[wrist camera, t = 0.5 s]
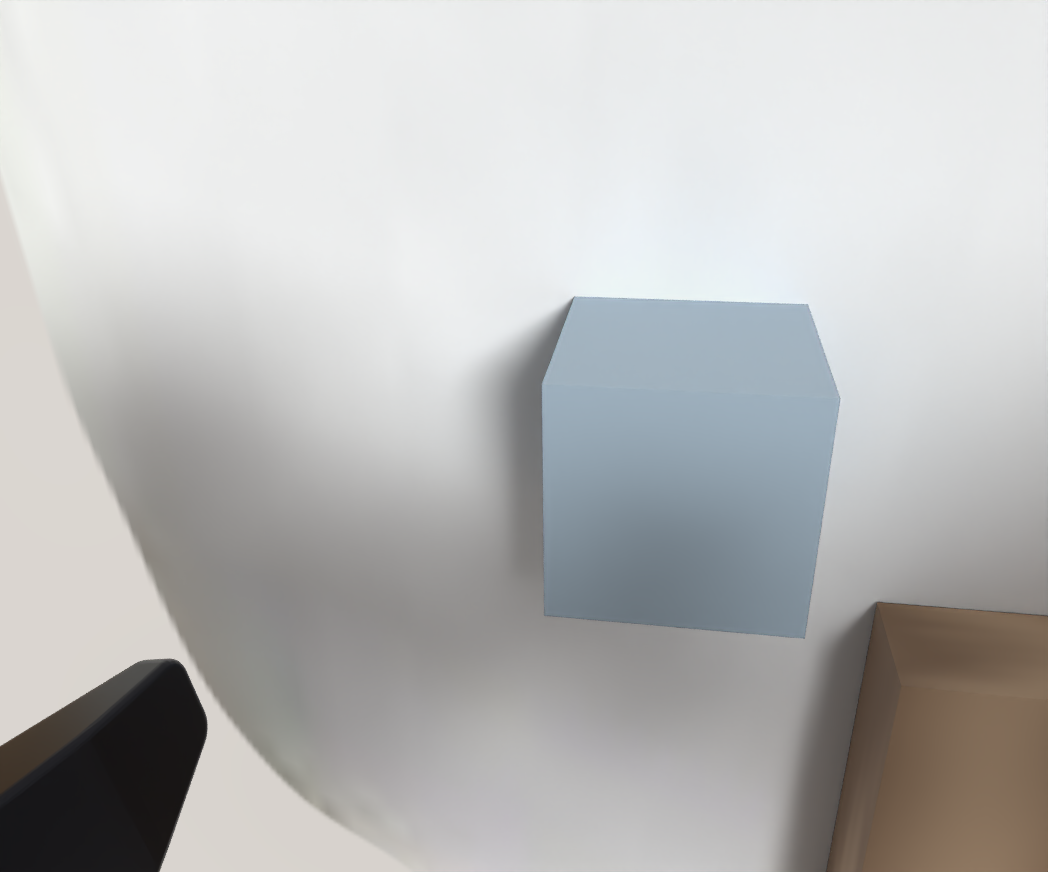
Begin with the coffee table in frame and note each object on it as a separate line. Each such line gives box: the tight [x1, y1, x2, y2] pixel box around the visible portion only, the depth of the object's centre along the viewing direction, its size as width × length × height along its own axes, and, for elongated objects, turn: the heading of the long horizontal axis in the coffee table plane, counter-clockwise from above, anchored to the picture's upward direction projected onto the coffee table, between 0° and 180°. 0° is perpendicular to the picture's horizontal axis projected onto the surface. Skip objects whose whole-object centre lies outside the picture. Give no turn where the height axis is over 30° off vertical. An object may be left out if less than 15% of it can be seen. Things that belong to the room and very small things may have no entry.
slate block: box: [542, 297, 840, 639], centre depth 19 cm, size 5×5×5 cm
